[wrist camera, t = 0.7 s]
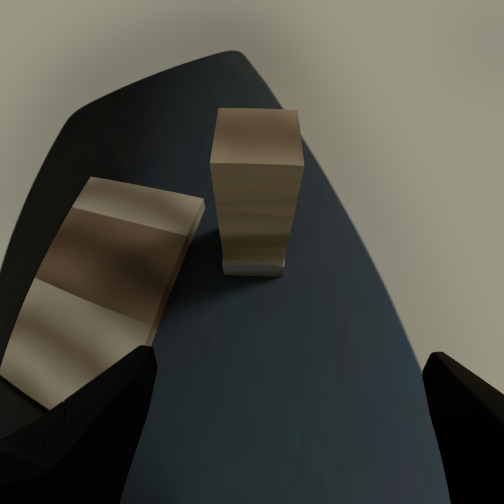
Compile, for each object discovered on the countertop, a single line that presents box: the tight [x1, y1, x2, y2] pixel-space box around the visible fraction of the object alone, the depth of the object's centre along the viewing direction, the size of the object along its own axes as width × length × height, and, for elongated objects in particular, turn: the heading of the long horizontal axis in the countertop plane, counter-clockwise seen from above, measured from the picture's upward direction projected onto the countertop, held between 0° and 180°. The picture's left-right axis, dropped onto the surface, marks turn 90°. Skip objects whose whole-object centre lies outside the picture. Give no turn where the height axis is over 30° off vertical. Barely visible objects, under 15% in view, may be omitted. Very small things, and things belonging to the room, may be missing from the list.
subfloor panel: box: [0, 177, 205, 410], centre depth 24 cm, size 22×13×2 cm, turn 165°
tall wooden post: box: [210, 108, 304, 277], centre depth 21 cm, size 5×5×13 cm
